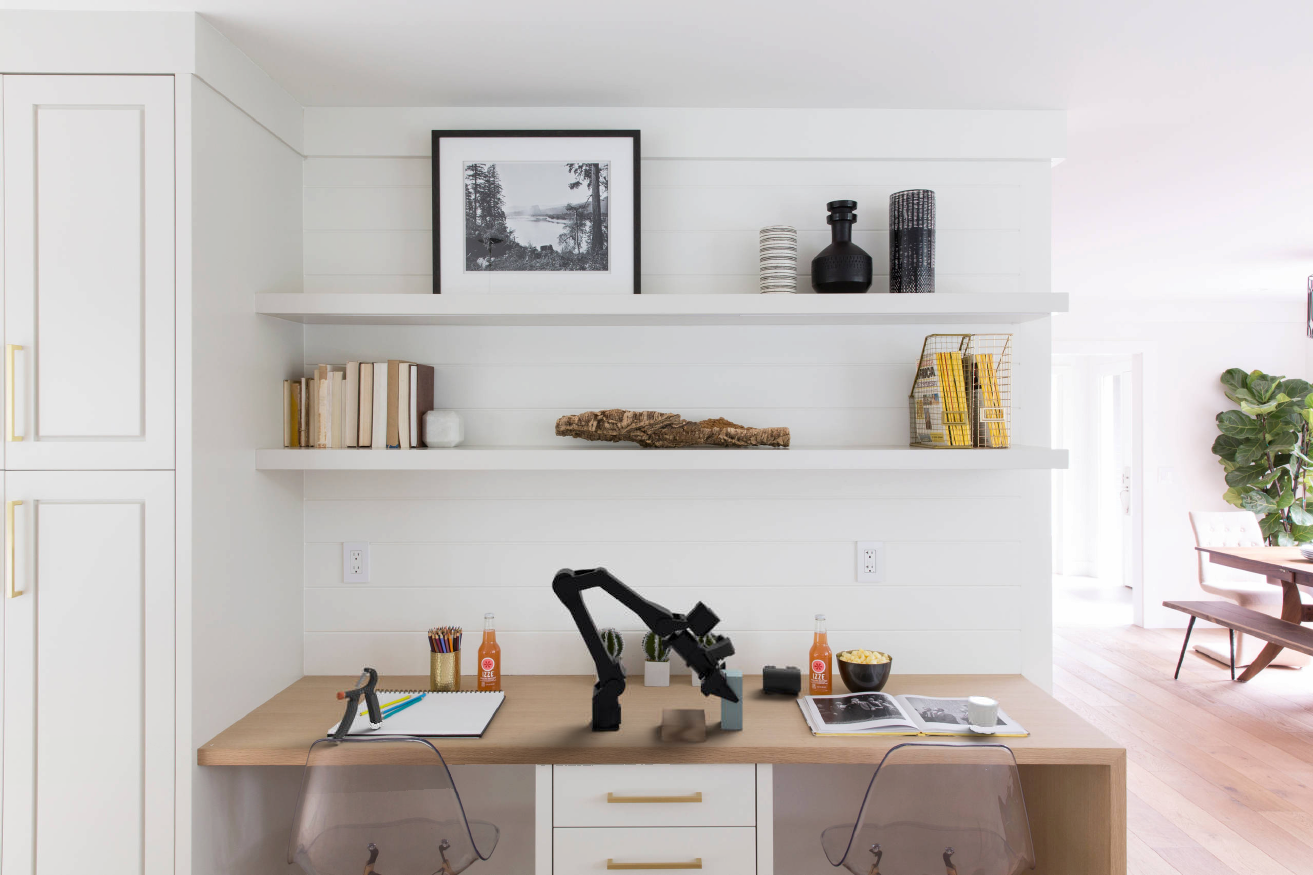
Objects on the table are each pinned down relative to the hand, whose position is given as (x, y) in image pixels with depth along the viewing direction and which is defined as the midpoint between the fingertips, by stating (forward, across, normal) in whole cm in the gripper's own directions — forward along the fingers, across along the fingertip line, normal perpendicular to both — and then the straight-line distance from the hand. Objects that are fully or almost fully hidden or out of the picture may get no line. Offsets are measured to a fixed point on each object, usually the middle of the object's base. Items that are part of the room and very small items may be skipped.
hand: (737, 697), depth 179 cm
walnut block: (-4, -5, +14) cm, 15 cm away
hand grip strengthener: (-57, -12, +67) cm, 89 cm away
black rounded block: (+14, +24, -4) cm, 28 cm away
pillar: (+4, 0, +6) cm, 7 cm away
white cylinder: (+45, +1, -36) cm, 58 cm away
